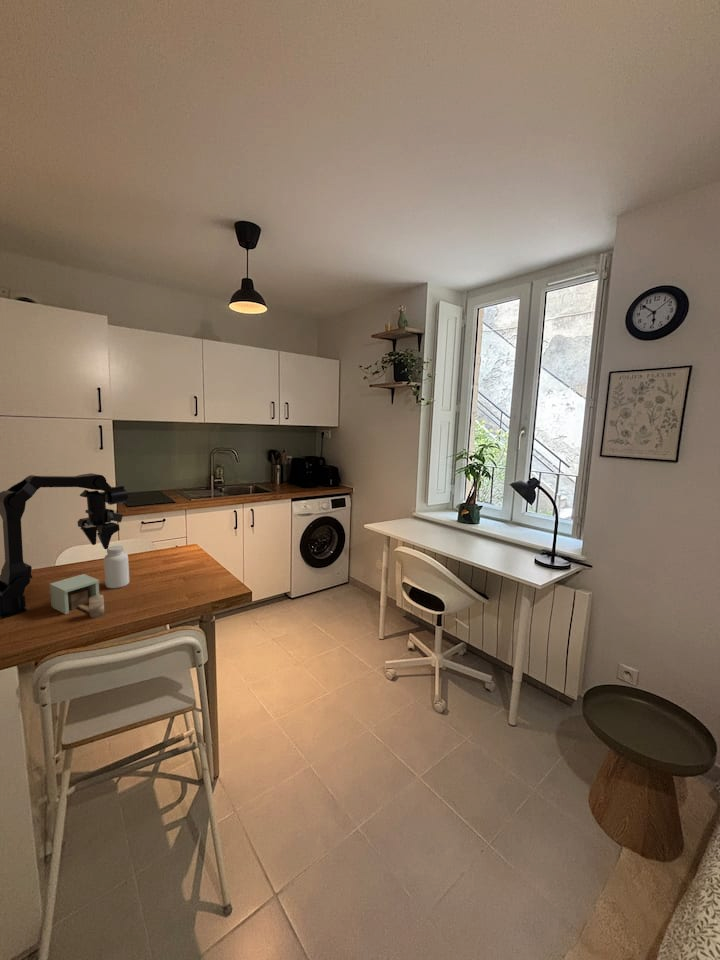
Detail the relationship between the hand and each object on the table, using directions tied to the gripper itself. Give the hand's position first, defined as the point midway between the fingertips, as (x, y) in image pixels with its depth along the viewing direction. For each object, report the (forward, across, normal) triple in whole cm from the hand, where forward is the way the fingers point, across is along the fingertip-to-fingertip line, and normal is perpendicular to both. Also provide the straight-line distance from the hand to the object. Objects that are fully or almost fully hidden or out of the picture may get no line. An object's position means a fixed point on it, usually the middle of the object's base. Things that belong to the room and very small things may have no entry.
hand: (100, 546), depth 151 cm
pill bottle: (+15, -5, -3) cm, 16 cm away
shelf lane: (+15, -12, +14) cm, 24 cm away
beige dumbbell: (+15, -17, +14) cm, 27 cm away
